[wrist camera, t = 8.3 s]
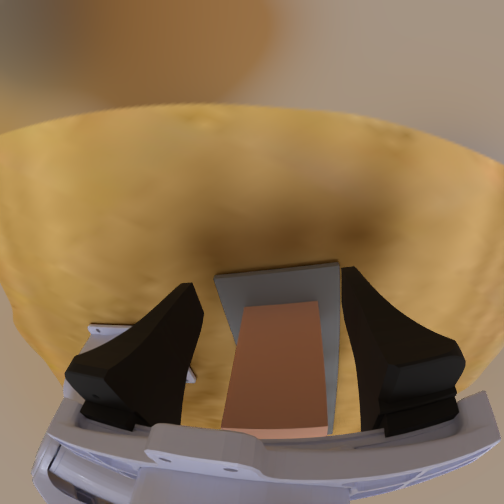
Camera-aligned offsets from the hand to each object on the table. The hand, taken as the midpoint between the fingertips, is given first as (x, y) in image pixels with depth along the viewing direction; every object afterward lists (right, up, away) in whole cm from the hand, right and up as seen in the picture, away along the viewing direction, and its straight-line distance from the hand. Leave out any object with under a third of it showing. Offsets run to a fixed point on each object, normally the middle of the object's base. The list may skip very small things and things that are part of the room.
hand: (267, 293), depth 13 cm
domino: (+1, -2, +6) cm, 6 cm away
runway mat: (+3, -11, +11) cm, 16 cm away
